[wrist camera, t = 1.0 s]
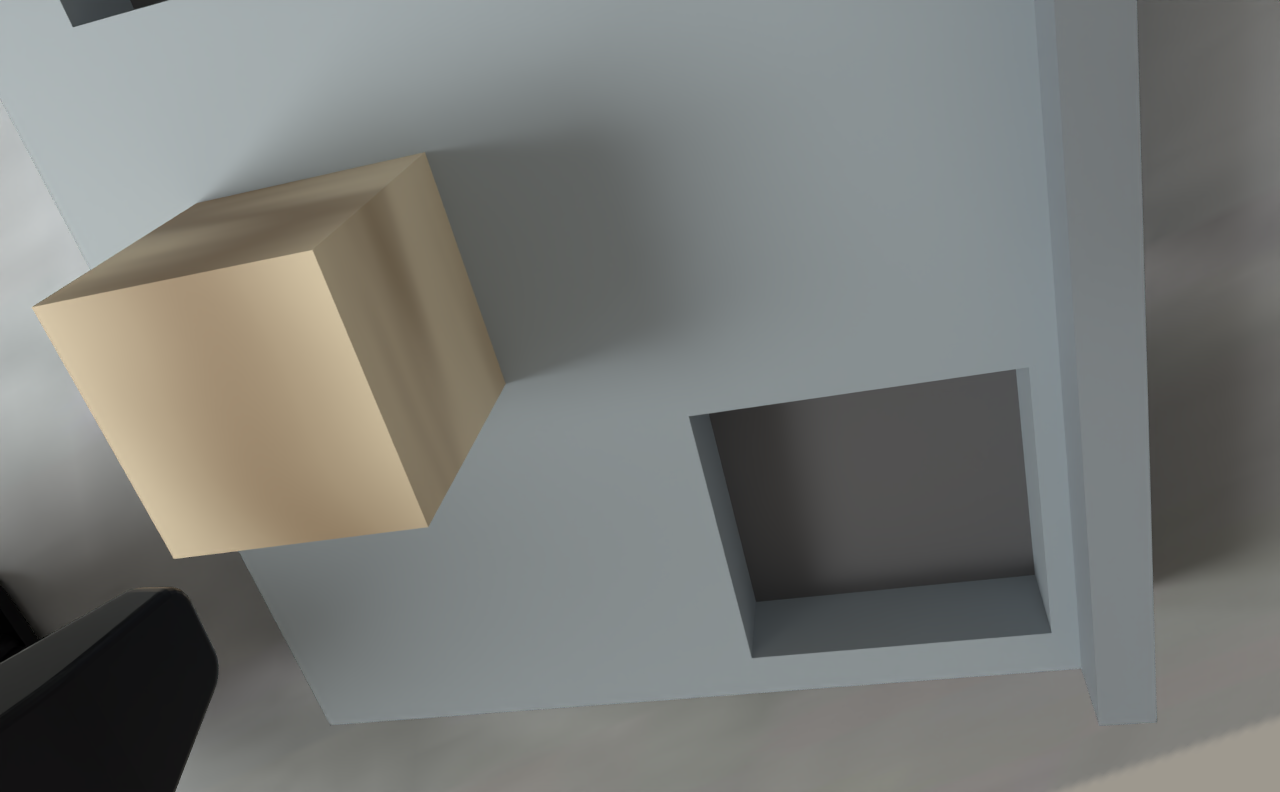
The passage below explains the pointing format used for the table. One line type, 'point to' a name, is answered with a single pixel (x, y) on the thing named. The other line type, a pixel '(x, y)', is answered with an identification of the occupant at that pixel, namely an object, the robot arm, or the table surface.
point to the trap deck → (692, 327)
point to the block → (286, 360)
